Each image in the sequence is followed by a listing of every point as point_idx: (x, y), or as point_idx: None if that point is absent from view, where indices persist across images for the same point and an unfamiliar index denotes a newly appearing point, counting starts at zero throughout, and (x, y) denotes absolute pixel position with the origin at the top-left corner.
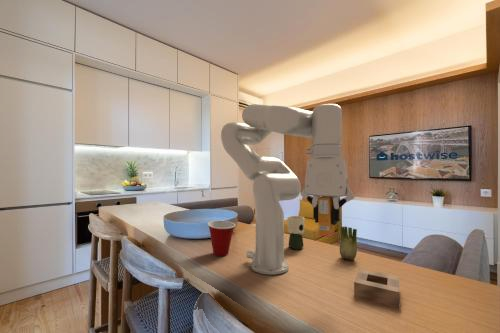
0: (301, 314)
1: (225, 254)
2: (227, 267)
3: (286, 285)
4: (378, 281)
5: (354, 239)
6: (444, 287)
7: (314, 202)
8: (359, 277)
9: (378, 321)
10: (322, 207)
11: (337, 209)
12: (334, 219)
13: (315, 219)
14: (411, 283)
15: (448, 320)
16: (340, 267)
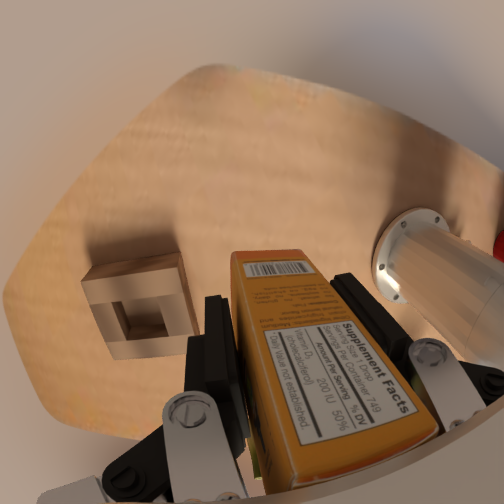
0: (252, 85)
1: (496, 244)
2: (475, 192)
3: (344, 191)
4: (147, 330)
5: (255, 454)
6: (80, 390)
7: (440, 371)
8: (177, 304)
9: (105, 178)
10: (342, 362)
11: (191, 402)
12: (206, 315)
13: (355, 280)
14: (118, 380)
15: (33, 276)
16: None
